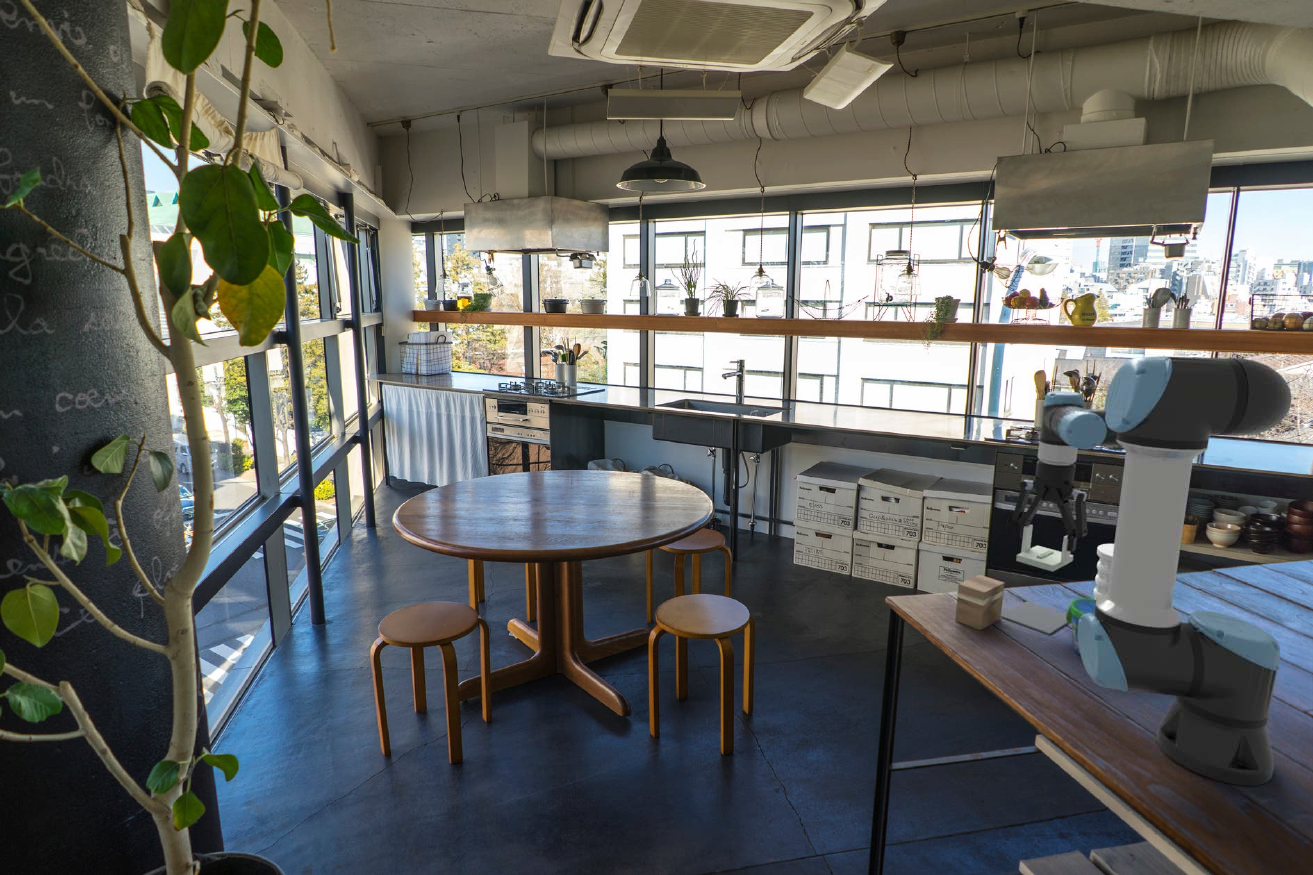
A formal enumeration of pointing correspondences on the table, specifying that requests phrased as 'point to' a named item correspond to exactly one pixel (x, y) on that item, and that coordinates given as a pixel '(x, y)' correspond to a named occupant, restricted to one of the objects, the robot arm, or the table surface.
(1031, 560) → the lid
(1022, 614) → the mat
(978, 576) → the walnut box
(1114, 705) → the table surface
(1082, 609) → the snack cup
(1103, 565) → the decorative container
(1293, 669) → the table surface
